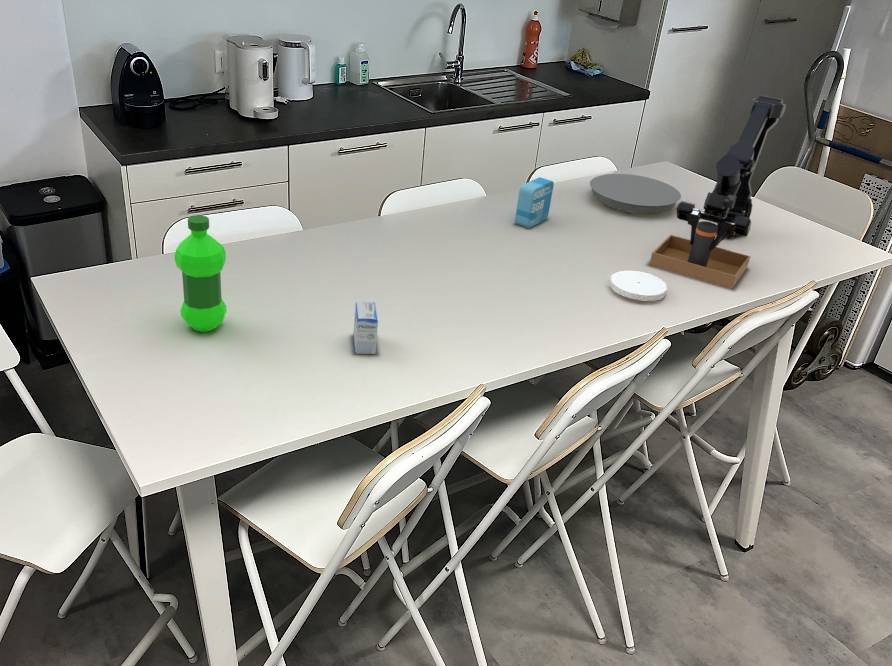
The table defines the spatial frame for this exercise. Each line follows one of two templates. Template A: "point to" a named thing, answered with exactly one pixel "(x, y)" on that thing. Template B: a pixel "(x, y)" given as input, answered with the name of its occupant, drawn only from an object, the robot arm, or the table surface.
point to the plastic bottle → (201, 276)
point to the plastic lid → (638, 285)
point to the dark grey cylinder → (702, 243)
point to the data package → (534, 202)
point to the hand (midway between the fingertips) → (700, 246)
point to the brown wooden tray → (719, 269)
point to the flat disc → (634, 193)
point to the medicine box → (365, 328)
